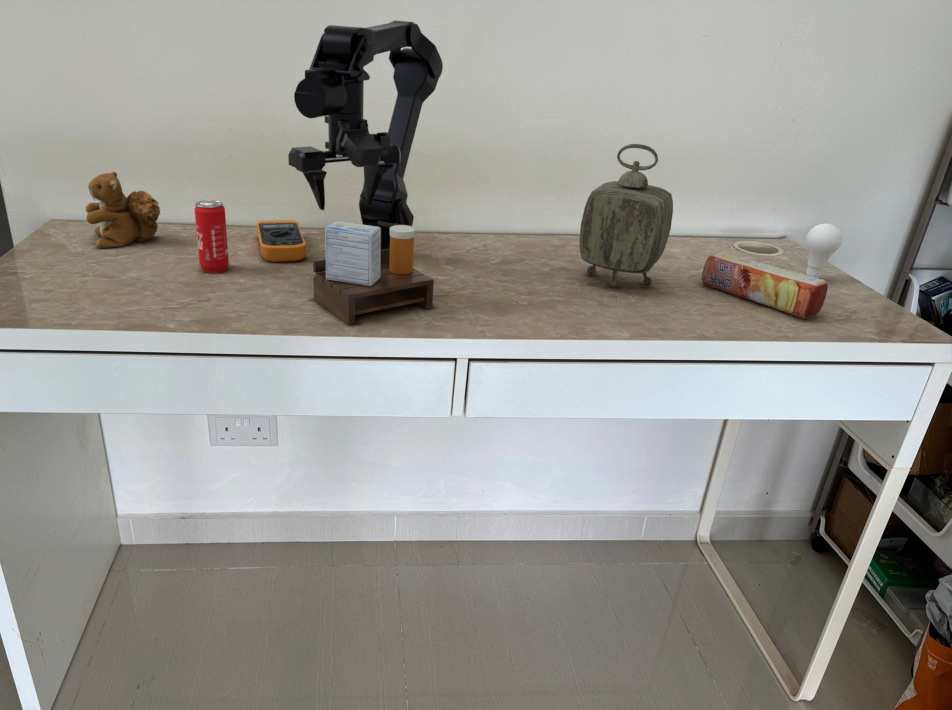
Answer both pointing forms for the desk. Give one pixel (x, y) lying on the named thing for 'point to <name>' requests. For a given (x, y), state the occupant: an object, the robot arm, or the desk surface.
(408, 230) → the pill bottle
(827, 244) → the lightbulb
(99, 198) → the stuffed squirrel
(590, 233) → the tabletop clock
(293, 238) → the multimeter
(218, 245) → the red soda can
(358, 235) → the medicine box
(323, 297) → the rack
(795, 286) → the snack package
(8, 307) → the desk surface
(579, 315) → the desk surface
